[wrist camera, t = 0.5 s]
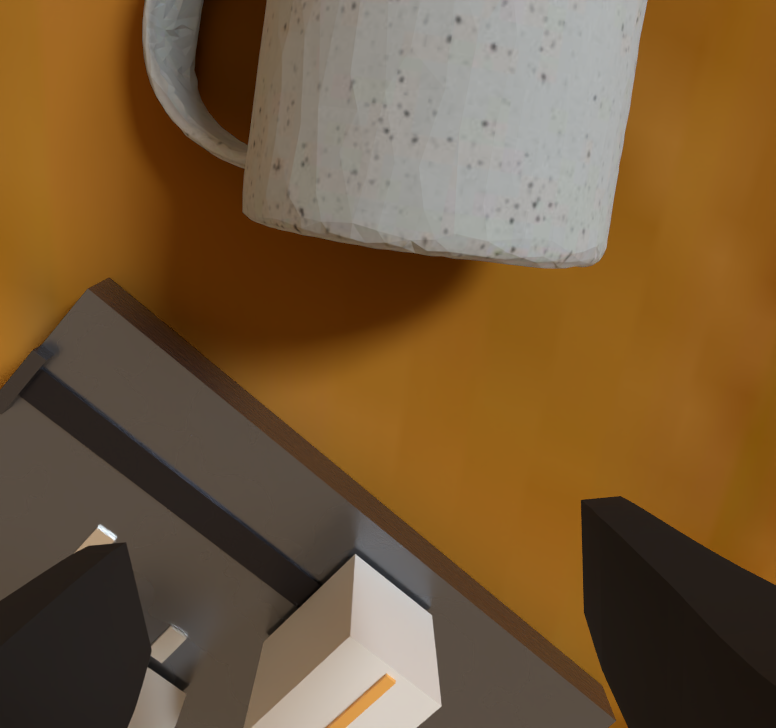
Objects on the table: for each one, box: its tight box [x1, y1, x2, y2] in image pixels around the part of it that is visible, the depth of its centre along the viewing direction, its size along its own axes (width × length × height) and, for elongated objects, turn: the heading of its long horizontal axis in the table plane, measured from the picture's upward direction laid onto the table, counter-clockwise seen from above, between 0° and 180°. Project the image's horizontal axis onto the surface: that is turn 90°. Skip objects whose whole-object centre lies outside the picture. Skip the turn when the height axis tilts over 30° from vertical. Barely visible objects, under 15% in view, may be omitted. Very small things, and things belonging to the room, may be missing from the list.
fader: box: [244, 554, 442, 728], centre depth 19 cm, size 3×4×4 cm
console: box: [0, 278, 616, 728], centre depth 22 cm, size 20×13×2 cm, turn 47°
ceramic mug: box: [142, 0, 647, 268], centre depth 14 cm, size 11×8×8 cm
